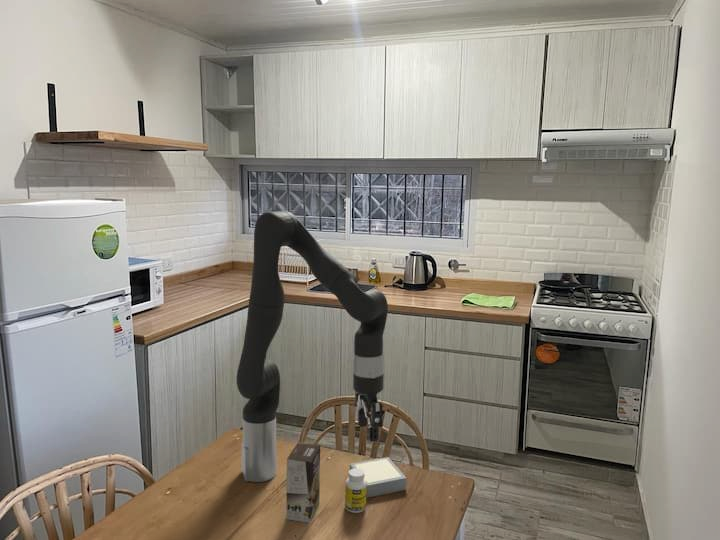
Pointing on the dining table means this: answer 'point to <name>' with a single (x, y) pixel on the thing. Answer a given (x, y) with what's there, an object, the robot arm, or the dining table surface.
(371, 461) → the block
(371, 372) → the robot arm
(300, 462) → the coffee box
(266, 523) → the dining table surface
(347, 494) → the supplement bottle
